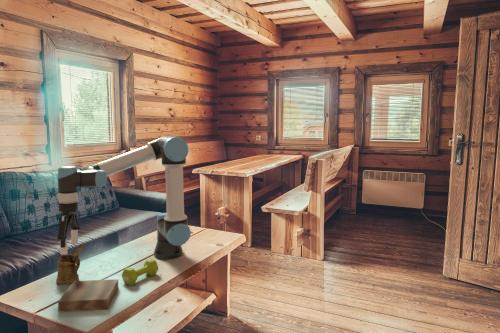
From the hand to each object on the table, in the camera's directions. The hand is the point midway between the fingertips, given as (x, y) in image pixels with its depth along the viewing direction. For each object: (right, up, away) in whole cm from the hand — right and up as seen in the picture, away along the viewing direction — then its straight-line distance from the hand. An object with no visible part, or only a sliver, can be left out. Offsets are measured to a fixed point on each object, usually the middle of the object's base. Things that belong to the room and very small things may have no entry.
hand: (69, 248), depth 164 cm
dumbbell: (+30, -15, +6) cm, 34 cm away
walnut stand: (+15, -17, -14) cm, 27 cm away
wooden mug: (0, -15, +2) cm, 15 cm away
